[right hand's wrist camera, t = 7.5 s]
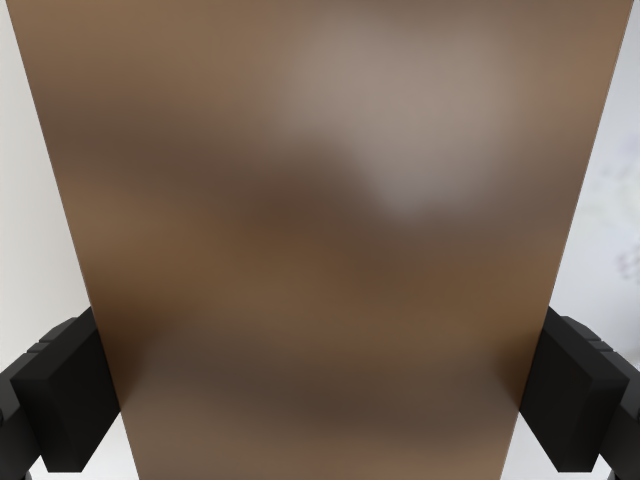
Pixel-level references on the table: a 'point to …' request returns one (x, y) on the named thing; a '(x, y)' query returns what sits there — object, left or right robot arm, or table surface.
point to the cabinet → (319, 218)
